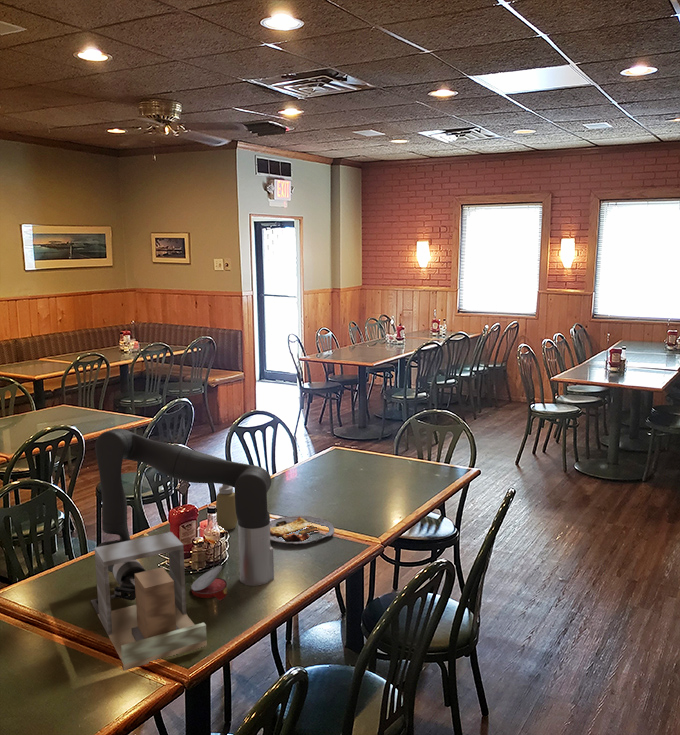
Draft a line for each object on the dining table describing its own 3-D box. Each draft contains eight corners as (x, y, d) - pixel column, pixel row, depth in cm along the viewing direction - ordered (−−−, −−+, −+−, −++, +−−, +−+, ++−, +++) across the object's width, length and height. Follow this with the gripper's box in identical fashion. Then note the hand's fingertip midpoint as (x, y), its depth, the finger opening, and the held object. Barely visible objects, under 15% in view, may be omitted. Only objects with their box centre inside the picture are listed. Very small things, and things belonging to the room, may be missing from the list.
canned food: (214, 618, 198) (203, 596, 192) (188, 605, 203) (177, 583, 198) (240, 587, 204) (230, 565, 199) (215, 574, 210) (204, 552, 204)
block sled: (171, 623, 183) (168, 565, 180) (182, 639, 175) (179, 579, 173) (131, 633, 178) (128, 575, 175) (141, 651, 170) (138, 589, 168)
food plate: (286, 554, 228) (286, 543, 227) (247, 533, 245) (246, 523, 245) (346, 536, 243) (347, 526, 243) (305, 517, 261) (305, 508, 261)
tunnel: (163, 589, 205) (160, 519, 202) (206, 646, 175) (203, 566, 172) (91, 607, 195) (86, 534, 192) (124, 670, 165) (118, 586, 162)
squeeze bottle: (242, 523, 253) (241, 474, 250) (233, 532, 246) (231, 482, 243) (221, 521, 255) (219, 473, 252) (211, 530, 248) (209, 480, 245)
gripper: (104, 566, 192) (120, 592, 177) (153, 555, 198) (173, 580, 184) (105, 593, 193) (122, 621, 178) (154, 581, 200) (174, 607, 185)
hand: (148, 600), depth 181 cm, fingers closed
